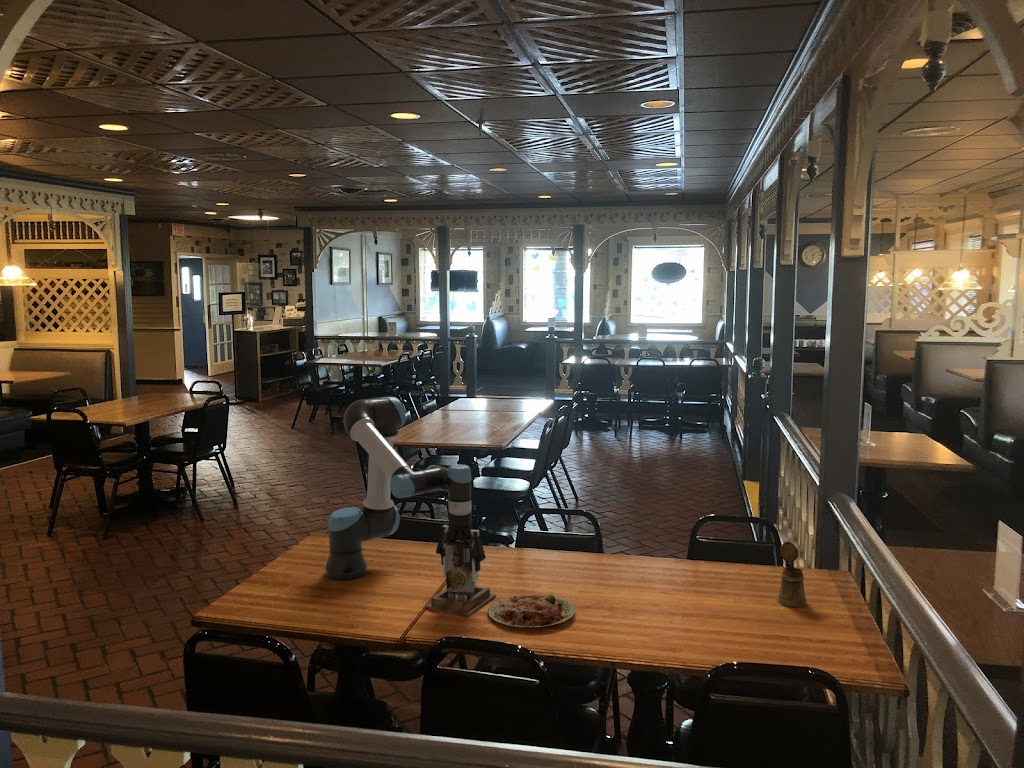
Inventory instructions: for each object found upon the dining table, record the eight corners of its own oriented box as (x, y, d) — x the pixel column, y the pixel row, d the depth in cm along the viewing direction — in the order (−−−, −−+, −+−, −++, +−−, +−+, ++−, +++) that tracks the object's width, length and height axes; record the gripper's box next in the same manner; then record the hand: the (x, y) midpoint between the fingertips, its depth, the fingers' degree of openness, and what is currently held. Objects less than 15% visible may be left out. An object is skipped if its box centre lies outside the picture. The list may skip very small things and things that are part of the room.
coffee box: (475, 585, 264) (475, 539, 262) (473, 593, 258) (472, 545, 256) (449, 584, 265) (448, 538, 263) (445, 592, 259) (444, 544, 257)
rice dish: (476, 609, 260) (475, 593, 259) (551, 592, 271) (550, 577, 270) (509, 643, 235) (508, 626, 234) (591, 623, 245) (590, 607, 245)
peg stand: (425, 608, 257) (424, 597, 257) (455, 588, 274) (455, 578, 274) (467, 617, 250) (467, 605, 250) (496, 596, 267) (496, 586, 266)
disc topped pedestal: (799, 592, 269) (801, 541, 267) (809, 608, 256) (811, 554, 254) (772, 591, 270) (774, 540, 268) (780, 607, 257) (782, 553, 255)
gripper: (424, 510, 260) (425, 575, 263) (485, 519, 250) (485, 587, 253) (436, 505, 267) (437, 568, 270) (496, 513, 257) (496, 579, 259)
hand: (460, 577), depth 261 cm, fingers closed on coffee box, 10 cm apart
